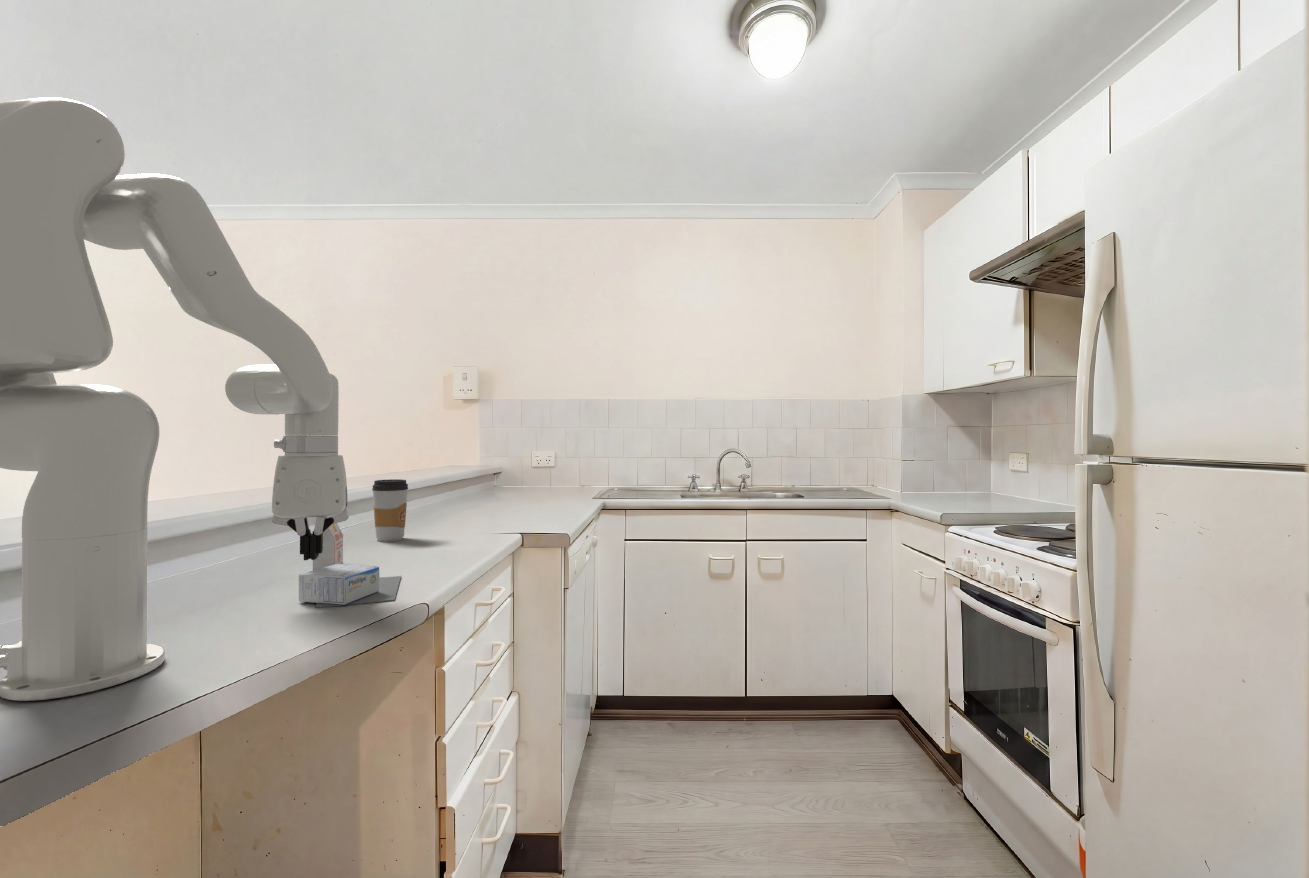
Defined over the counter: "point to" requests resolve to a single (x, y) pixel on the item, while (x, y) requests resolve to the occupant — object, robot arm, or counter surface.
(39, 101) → the robot arm
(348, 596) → the medicine box
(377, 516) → the coffee cup
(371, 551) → the counter surface
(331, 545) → the small milk carton
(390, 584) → the mat
